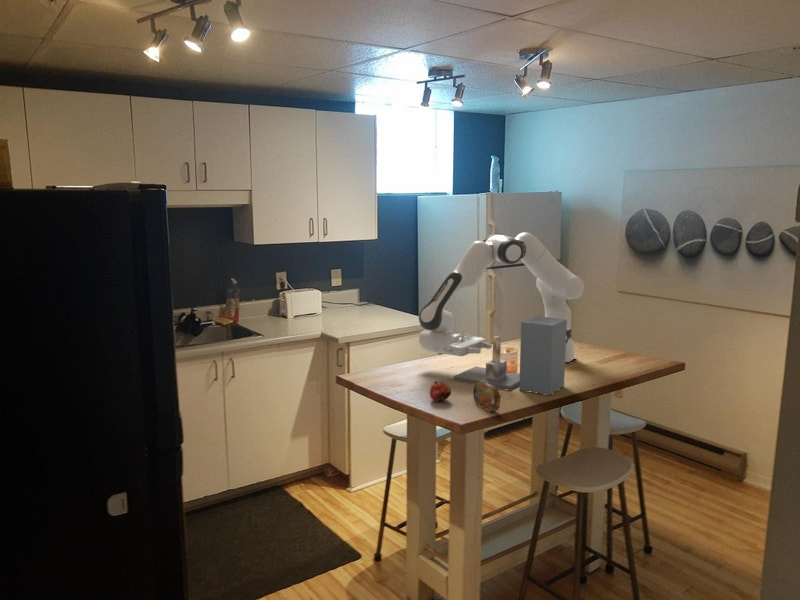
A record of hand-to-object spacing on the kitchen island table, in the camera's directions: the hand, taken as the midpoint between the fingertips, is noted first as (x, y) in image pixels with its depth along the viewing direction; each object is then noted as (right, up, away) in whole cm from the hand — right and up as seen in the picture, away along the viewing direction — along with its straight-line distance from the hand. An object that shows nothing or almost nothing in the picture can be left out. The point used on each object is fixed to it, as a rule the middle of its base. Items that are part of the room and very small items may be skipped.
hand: (485, 349), depth 246 cm
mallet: (+2, -3, -1) cm, 3 cm away
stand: (+20, -14, -12) cm, 27 cm away
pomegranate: (-19, -17, -26) cm, 37 cm away
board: (+2, -12, 0) cm, 12 cm away
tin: (-4, -18, -33) cm, 37 cm away
